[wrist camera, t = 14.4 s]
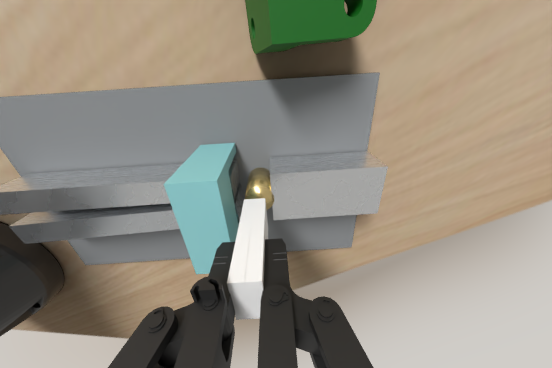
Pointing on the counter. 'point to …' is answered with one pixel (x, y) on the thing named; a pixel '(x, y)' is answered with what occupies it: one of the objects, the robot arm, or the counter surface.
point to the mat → (192, 142)
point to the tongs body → (261, 182)
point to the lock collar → (204, 202)
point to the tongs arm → (101, 222)
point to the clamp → (305, 22)
